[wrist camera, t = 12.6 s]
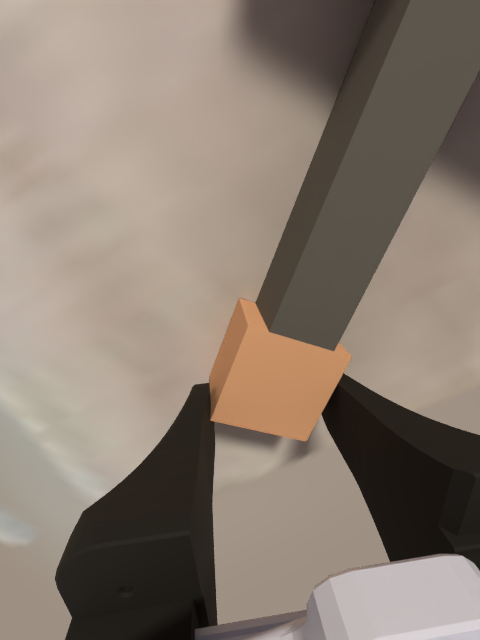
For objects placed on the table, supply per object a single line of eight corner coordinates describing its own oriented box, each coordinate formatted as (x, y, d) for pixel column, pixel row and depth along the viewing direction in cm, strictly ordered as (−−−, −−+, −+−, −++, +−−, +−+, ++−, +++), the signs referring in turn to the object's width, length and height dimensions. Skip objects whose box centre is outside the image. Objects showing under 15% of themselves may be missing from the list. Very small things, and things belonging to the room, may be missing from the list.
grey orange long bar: (543, -130, 9) (700, -285, 6) (287, 396, 15) (306, 441, 12) (434, -223, 8) (559, -457, 5) (209, 376, 14) (210, 420, 11)
